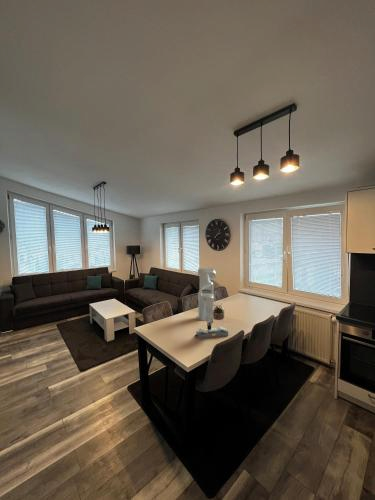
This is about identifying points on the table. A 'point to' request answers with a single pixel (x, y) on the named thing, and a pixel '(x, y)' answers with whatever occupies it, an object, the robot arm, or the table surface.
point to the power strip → (211, 334)
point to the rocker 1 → (202, 330)
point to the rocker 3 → (222, 328)
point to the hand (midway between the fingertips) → (209, 329)
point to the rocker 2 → (213, 329)
